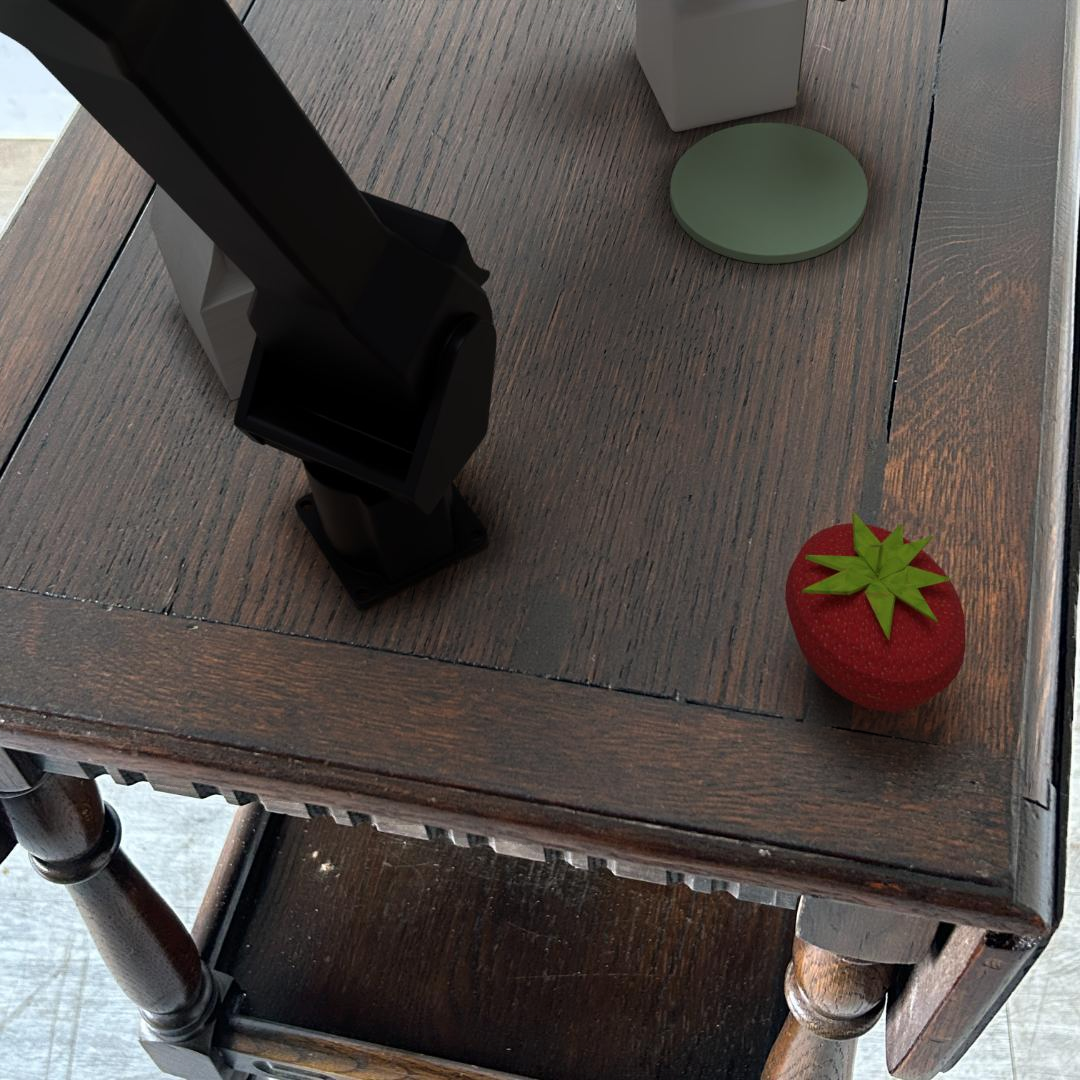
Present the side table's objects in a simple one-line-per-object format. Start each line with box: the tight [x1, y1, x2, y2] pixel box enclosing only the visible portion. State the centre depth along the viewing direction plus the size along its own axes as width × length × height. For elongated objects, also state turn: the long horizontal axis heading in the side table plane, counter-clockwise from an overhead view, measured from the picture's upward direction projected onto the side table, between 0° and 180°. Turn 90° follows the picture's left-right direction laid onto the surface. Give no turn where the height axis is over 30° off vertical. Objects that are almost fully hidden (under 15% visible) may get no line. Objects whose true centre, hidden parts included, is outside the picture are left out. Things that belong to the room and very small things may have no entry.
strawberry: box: [785, 511, 966, 713], centre depth 52 cm, size 6×8×10 cm
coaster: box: [669, 122, 869, 265], centre depth 72 cm, size 10×10×1 cm
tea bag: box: [148, 183, 257, 401], centre depth 64 cm, size 4×7×10 cm, turn 28°
